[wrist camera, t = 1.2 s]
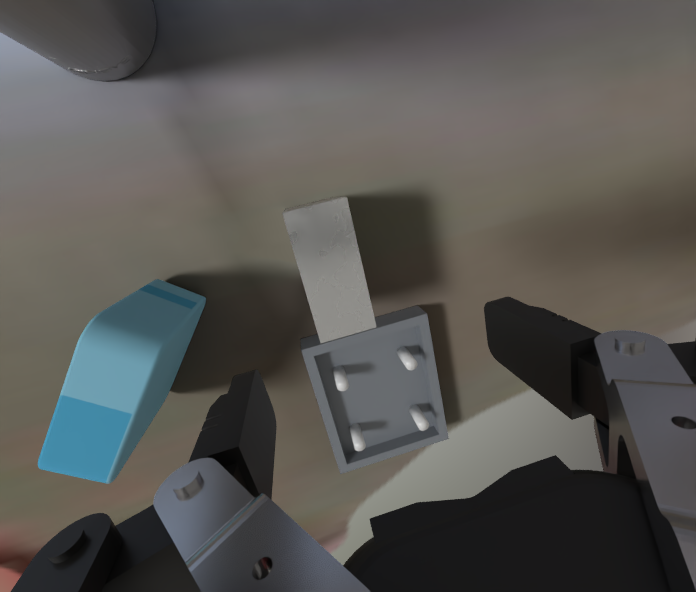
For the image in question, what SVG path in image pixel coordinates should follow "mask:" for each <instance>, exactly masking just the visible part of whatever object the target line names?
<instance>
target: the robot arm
mask: <svg viewBox="0 0 696 592" xmlns="http://www.w3.org/2000/svg"><path fill="white" fill-rule="evenodd" d="M0 32H1V33H3V34H5V35H6V36H8V37H10V38H12V39H13V40H15V41H17V42H19V43H20V44H22V45H24V46H26V47H27V48H29V49H31V50H32V51H34V52H36V53H38V54H40V55H41V56H43V57H45V58H47V59H48V60H50V61H52V62H54V63H56V64H57V65H59V66H61V67H63V68H64V69H66V70H68V71H70V72H72V73H73V74H75V75H78V76H81V77H84V78H87V79H91V80H99V81H110V80H118V79H121V78H124V77H127V76H129V75H131V74H132V73H134V72H135V71H137V70H138V69H139V68H140V67H141V66H142V65H143V64H144V63H145V61H146V60H147V59H148V57H149V55H150V53H151V51H152V49H153V46H154V41H155V37H156V15H155V9H154V4H153V1H152V0H0ZM484 313H485V322H486V331H487V340H488V346H489V349H490V352H491V354H492V355H493V357H494V358H495V359H496V360H497V361H498V362H499V363H501V364H502V365H503V366H504V367H506V368H507V369H508V370H510V371H511V372H512V373H513V374H515V375H516V376H517V377H518V378H520V379H521V380H522V381H523V382H525V383H526V384H527V385H528V386H530V387H531V388H532V389H534V390H535V391H536V392H538V393H539V394H540V395H541V396H543V397H544V398H545V399H546V400H548V401H549V402H550V403H551V404H553V405H554V406H555V407H557V408H558V409H559V410H560V411H562V412H563V413H564V414H565V415H567V416H568V417H569V418H570V419H572V420H573V419H576V418H579V417H582V416H584V415H588V414H592V415H593V416H594V429H595V435H596V439H597V443H598V449H599V453H600V458H601V462H602V467H603V472H602V471H592V470H570V469H569V468H568V467H567V466H566V465H565V464H564V463H563V462H562V461H561V460H560V459H559V458H558V457H557V456H556V455H555V456H552V457H549V458H546V459H543V460H540V461H537V462H535V463H532V464H529V465H526V466H523V467H520V468H517V469H514V470H511V471H510V472H508V473H507V474H506V475H504V476H503V477H502V478H500V479H498V480H497V481H496V482H494V483H493V484H492V485H490V486H489V487H487V488H486V489H484V490H483V491H482V492H480V493H479V494H477V495H475V496H474V497H471V498H466V499H455V500H443V501H431V502H418V503H414V504H411V505H409V506H406V507H403V508H400V509H397V510H394V511H391V512H388V513H385V514H382V515H379V516H376V517H373V518H371V519H370V523H371V527H372V531H373V535H374V537H373V538H372V539H370V540H368V541H367V542H366V543H364V544H363V545H362V546H361V547H360V548H359V549H358V550H356V551H355V552H354V553H353V555H352V556H351V557H350V558H349V559H348V560H347V561H346V562H345V564H344V565H341V564H340V563H339V562H338V561H337V560H336V559H335V558H334V557H333V556H332V555H331V554H330V553H328V552H327V551H326V550H325V549H324V548H323V547H322V546H321V545H320V544H319V543H318V542H317V541H315V540H314V539H313V538H312V537H311V536H310V535H309V534H308V533H307V532H306V531H305V530H303V529H302V528H301V527H300V526H299V525H298V524H297V523H296V522H295V521H294V520H293V519H291V518H290V517H289V516H288V515H287V514H286V513H285V512H284V511H283V510H282V509H281V508H280V507H278V506H277V505H276V504H275V503H274V502H273V501H272V500H271V497H272V483H273V468H274V454H275V440H276V418H275V414H274V410H273V407H272V404H271V401H270V399H269V396H268V393H267V391H266V388H265V385H264V383H263V380H262V377H261V375H260V373H259V371H258V370H253V371H250V372H246V373H243V374H239V375H236V376H234V377H233V379H232V382H231V385H230V388H229V391H228V394H224V395H221V396H220V397H219V398H218V399H217V400H216V401H215V403H214V404H213V405H212V406H211V407H210V409H209V412H208V414H207V417H206V421H205V422H204V424H203V427H202V431H201V432H200V435H199V437H198V440H197V442H196V445H195V447H194V450H193V452H192V455H191V457H190V460H189V463H187V464H185V465H183V466H182V467H180V468H179V469H177V470H176V471H175V472H173V473H172V474H171V475H170V476H169V477H168V478H167V479H166V480H165V481H164V482H163V483H162V485H161V486H160V487H159V489H158V491H157V492H156V495H155V497H154V504H153V505H152V506H150V507H148V508H147V509H145V510H143V511H141V512H140V513H138V514H136V515H134V516H132V517H131V518H129V519H127V520H125V521H123V522H122V523H120V524H118V525H116V526H115V525H114V523H113V522H112V520H111V519H110V517H109V516H108V515H107V514H104V513H97V514H92V515H89V516H86V517H84V518H82V519H80V520H78V521H76V522H74V523H72V524H71V525H69V526H68V527H66V528H65V529H63V530H62V531H61V532H59V533H58V534H57V535H56V536H54V537H53V538H52V539H51V540H50V541H49V542H48V543H47V544H46V545H45V546H44V547H43V548H42V549H41V550H40V551H39V552H38V553H37V554H36V556H35V557H34V558H33V560H32V561H31V562H30V564H29V565H28V567H27V568H26V570H25V571H24V573H23V574H22V576H21V577H20V579H19V580H18V582H17V583H16V585H15V586H14V588H13V589H12V591H11V592H696V340H695V341H694V342H684V343H674V344H667V343H665V342H664V341H663V340H662V339H660V338H658V337H656V336H653V335H650V334H647V333H643V332H637V331H626V330H618V331H609V332H605V333H599V332H597V331H595V330H592V329H590V328H588V327H585V326H583V325H581V324H579V323H576V322H574V321H572V320H568V319H567V318H565V317H562V316H560V315H558V316H557V314H556V313H553V312H551V311H549V310H546V309H544V308H539V307H534V306H529V305H527V304H524V303H522V302H520V301H518V300H515V299H513V298H511V297H504V298H501V299H497V300H494V301H491V302H487V303H486V304H485V307H484Z"/></svg>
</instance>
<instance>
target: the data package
mask: <svg viewBox="0 0 696 592" xmlns="http://www.w3.org/2000/svg"><path fill="white" fill-rule="evenodd" d="M205 303H206V298H205V297H204V296H201V295H198V294H196V293H193V292H191V291H188V290H185V289H183V288H180V287H178V286H175V285H172V284H170V283H167V282H165V281H162V280H159V279H157V280H154V281H152V282H151V283H149V284H147V285H146V286H144V287H142V288H141V289H139V290H137V291H136V292H134V293H132V294H130V295H129V296H127V297H125V298H124V299H122V300H120V301H119V302H117V303H115V304H114V305H112V306H110V307H109V308H107V309H105V310H103V311H102V312H100V313H99V314H97V315H96V316H95V317H94V318H93V319H92V320H91V321H90V322H89V323H88V325H87V326H86V328H85V329H84V331H83V332H82V334H81V336H80V338H79V340H78V343H77V346H76V349H75V352H74V355H73V358H72V361H71V364H70V367H69V370H68V373H67V376H66V379H65V382H64V385H63V388H62V391H61V394H60V397H59V400H58V403H57V406H56V409H55V412H54V415H53V418H52V421H51V424H50V427H49V430H48V433H47V436H46V439H45V442H44V445H43V448H42V451H41V454H40V457H39V460H38V467H39V468H40V469H42V470H47V471H51V472H56V473H61V474H65V475H70V476H75V477H79V478H84V479H89V480H93V481H98V482H103V483H111V482H113V481H114V479H115V478H116V477H117V475H118V474H119V472H120V471H121V469H122V468H123V466H124V464H125V463H126V461H127V460H128V458H129V456H130V455H131V453H132V452H133V450H134V449H135V447H136V445H137V444H138V442H139V441H140V439H141V437H142V436H143V434H144V433H145V431H146V430H147V428H148V426H149V425H150V423H151V422H152V420H153V418H154V417H155V415H156V414H157V412H158V411H159V409H160V407H161V406H162V404H163V403H164V401H165V399H166V397H167V395H168V393H169V391H170V389H171V387H172V385H173V382H174V380H175V377H176V375H177V372H178V370H179V367H180V365H181V363H182V360H183V358H184V355H185V353H186V350H187V348H188V345H189V343H190V341H191V338H192V336H193V333H194V331H195V328H196V326H197V323H198V321H199V319H200V316H201V314H202V311H203V309H204V306H205Z"/></svg>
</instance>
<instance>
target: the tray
mask: <svg viewBox="0 0 696 592" xmlns="http://www.w3.org/2000/svg"><path fill="white" fill-rule="evenodd" d="M375 322H376V328H372V329H369V330H365V331H362V332H359V333H355V334H352V335H348V336H345V337H341V338H338V339H334V340H331V341H328V342H324V343H320V339H319V336H318V334H316V335H312V336H309V337H306V338H302V339H301V351H302V355H303V358H304V361H305V364H306V367H307V370H308V373H309V377H310V380H311V383H312V386H313V389H314V392H315V395H316V399H317V402H318V405H319V408H320V411H321V414H322V418H323V421H324V424H325V427H326V430H327V433H328V436H329V440H330V443H331V446H332V449H333V452H334V455H335V458H336V462H337V465H338V468H339V471H340V474H342V473H345V472H348V471H351V470H354V469H358V468H361V467H364V466H367V465H370V464H373V463H376V462H379V461H382V460H385V459H388V458H391V457H394V456H397V455H400V454H403V453H406V452H409V451H413V450H416V449H419V448H422V447H425V446H428V445H431V444H434V443H437V442H440V441H443V440H446V439H448V432H447V427H446V421H445V415H444V409H443V403H442V397H441V392H440V386H439V380H438V374H437V368H436V362H435V357H434V351H433V345H432V339H431V333H430V327H429V322H428V316H427V313H426V312H425V311H424V310H422V309H421V308H420V307H419V306H418V305H417V306H413V307H410V308H406V309H403V310H399V311H396V312H392V313H389V314H385V315H382V316H378V317H375Z"/></svg>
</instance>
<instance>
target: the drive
mask: <svg viewBox="0 0 696 592" xmlns="http://www.w3.org/2000/svg"><path fill="white" fill-rule="evenodd" d="M282 214H283V217H284V220H285V224H286V227H287V231H288V234H289V237H290V241H291V244H292V248H293V251H294V254H295V258H296V261H297V265H298V268H299V271H300V275H301V278H302V282H303V285H304V288H305V292H306V295H307V299H308V302H309V305H310V309H311V312H312V316H313V319H314V322H315V326H316V329H317V333H318V336H319V339H320V343H324V342H328V341H331V340H334V339H338V338H341V337H345V336H348V335H352V334H355V333H359V332H362V331H365V330H369V329H372V328H376V322H375V318H374V314H373V309H372V305H371V300H370V296H369V292H368V287H367V283H366V279H365V274H364V270H363V265H362V261H361V257H360V252H359V248H358V244H357V239H356V235H355V230H354V226H353V222H352V217H351V213H350V209H349V204H348V200H347V197H331V198H327V199H323V200H319V201H315V202H311V203H307V204H303V205H299V206H295V207H291V208H287V209H285V210H284V211H283V213H282Z"/></svg>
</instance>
